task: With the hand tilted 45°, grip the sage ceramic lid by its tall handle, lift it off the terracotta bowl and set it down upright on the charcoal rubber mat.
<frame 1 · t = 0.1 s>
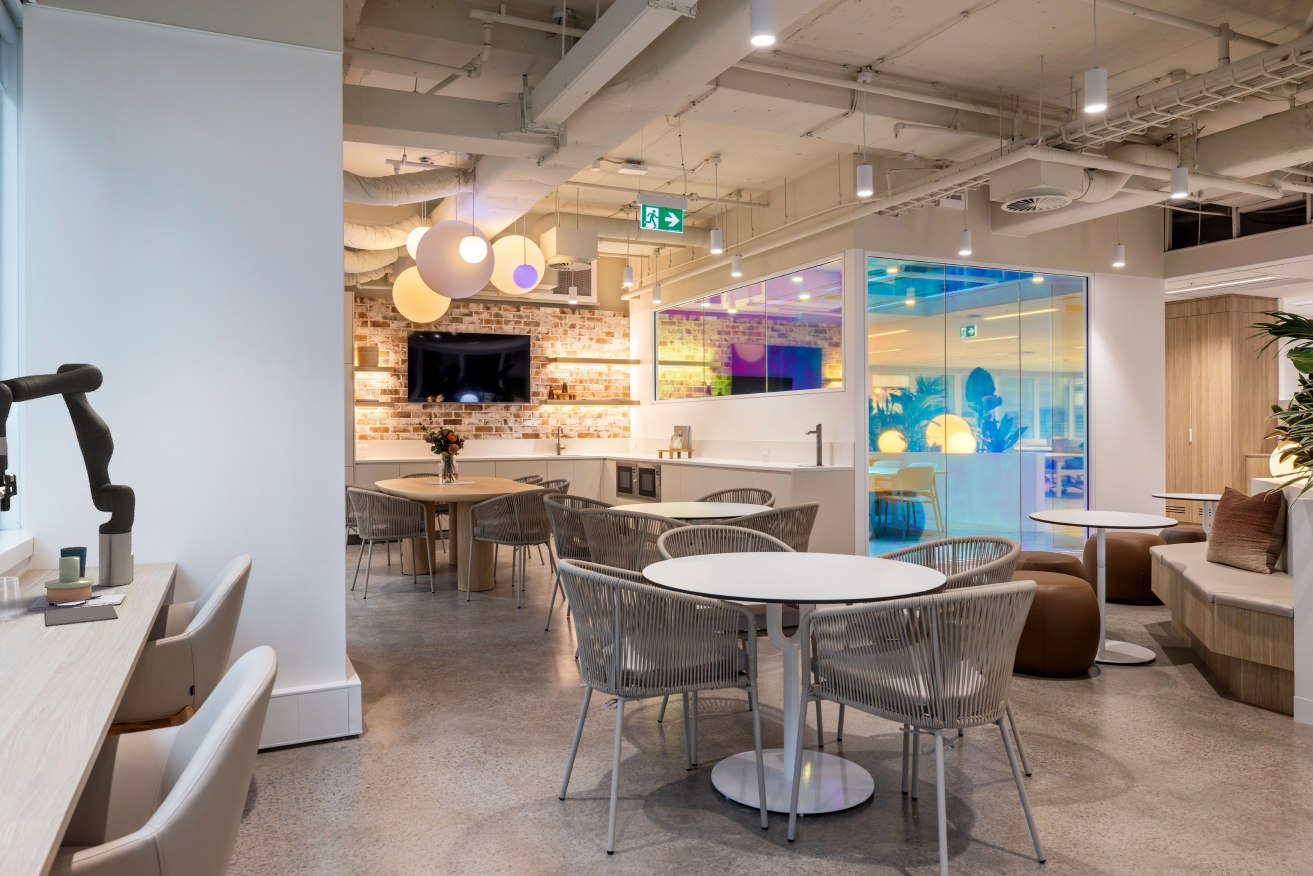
lid: (69, 585, 249), point 5 cm above the table, touching bowl
mat: (81, 614, 235), on the table
cup: (73, 596, 259), on the table
bowl: (69, 603, 249), on the table
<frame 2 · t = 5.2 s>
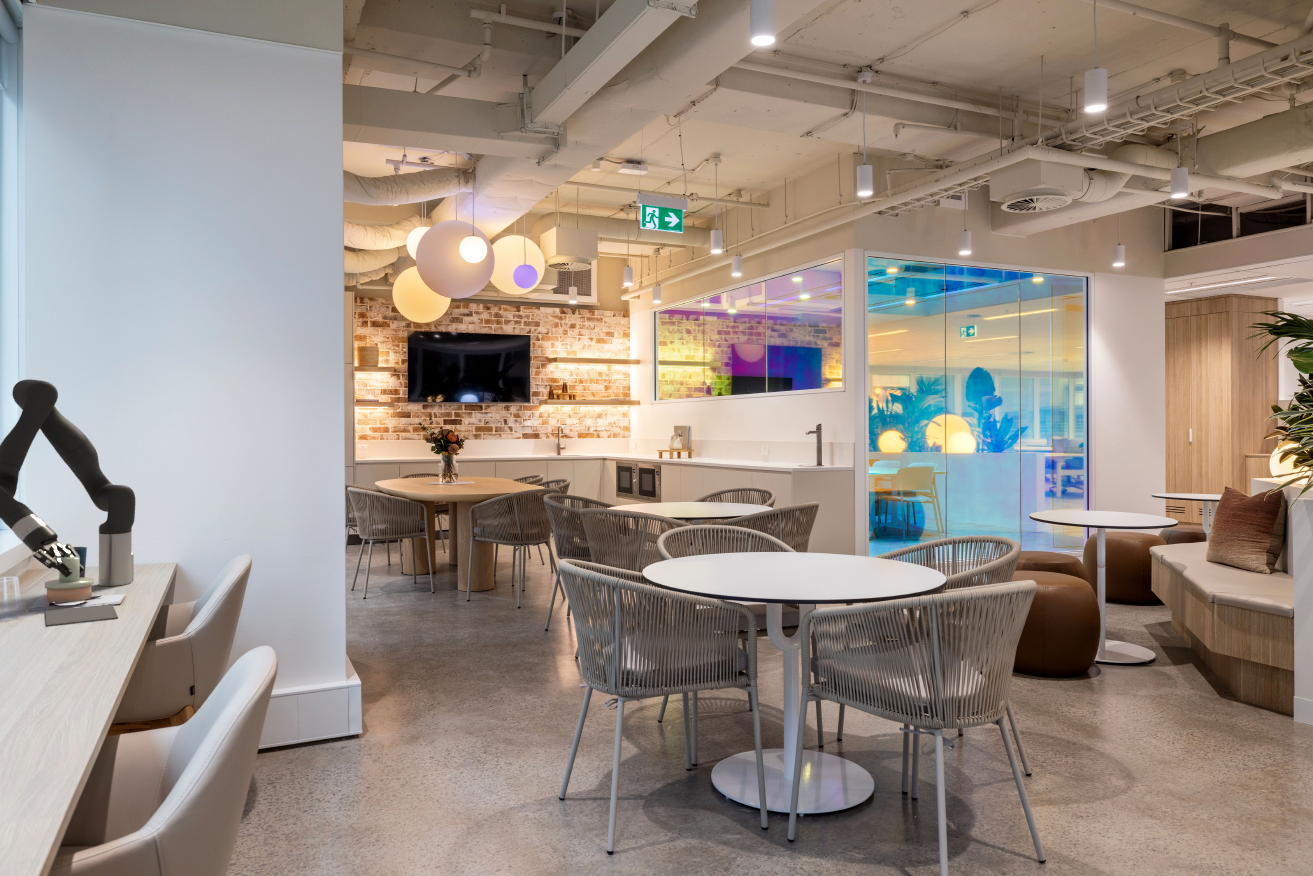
hand: (75, 573, 249), 9 cm above the table, tool tilted 45°, fingers closed on lid, 5 cm apart
lid: (69, 585, 249), point 5 cm above the table, touching bowl, gripper
cup: (73, 596, 259), on the table, touching hand
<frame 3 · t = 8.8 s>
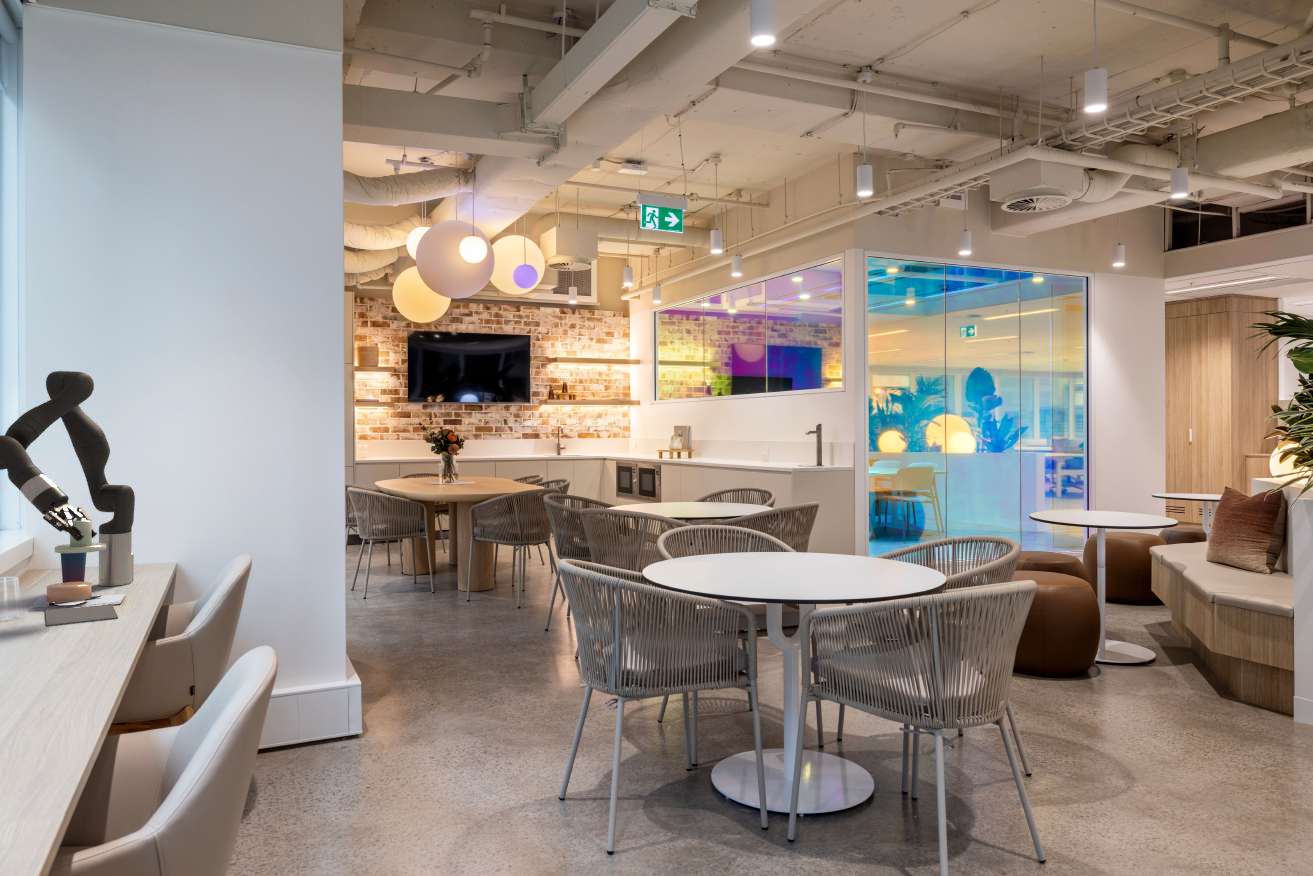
hand: (87, 537, 235), 22 cm above the table, tool tilted 45°, fingers closed on lid, 5 cm apart
lid: (80, 549, 234), point 18 cm above the table, touching gripper
cup: (73, 596, 259), on the table
when the fingers open (5 cm above the table, at t = 12.3 s): lid drops 1 cm, resting on mat.
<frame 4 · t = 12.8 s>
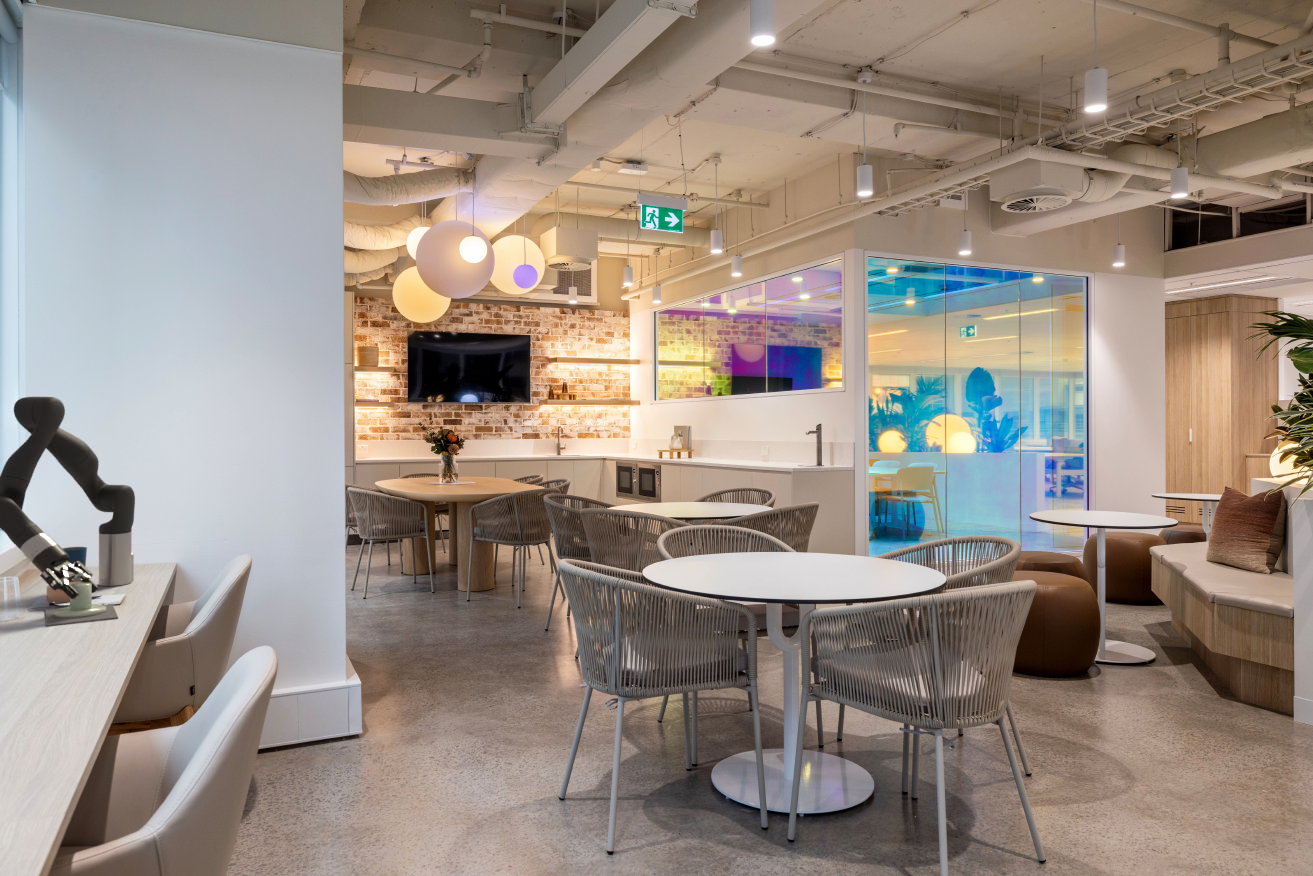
hand: (86, 593, 235), 6 cm above the table, tool tilted 45°, fingers open, 8 cm apart
lid: (80, 613, 235), resting on mat
everything else where it was.
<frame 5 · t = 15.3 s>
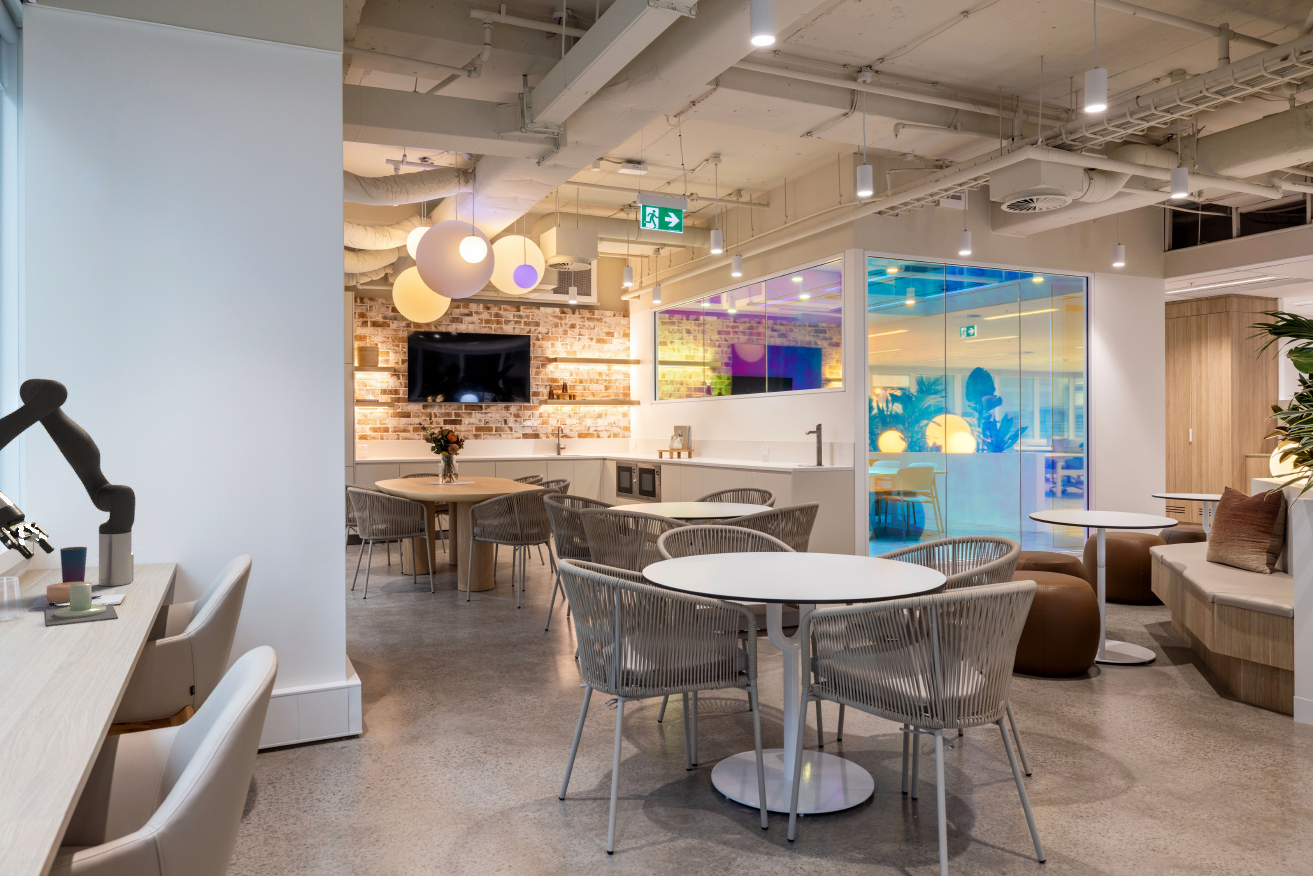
hand: (41, 554, 236), 17 cm above the table, tool tilted 40°, fingers open, 8 cm apart
nothing on the table moved.
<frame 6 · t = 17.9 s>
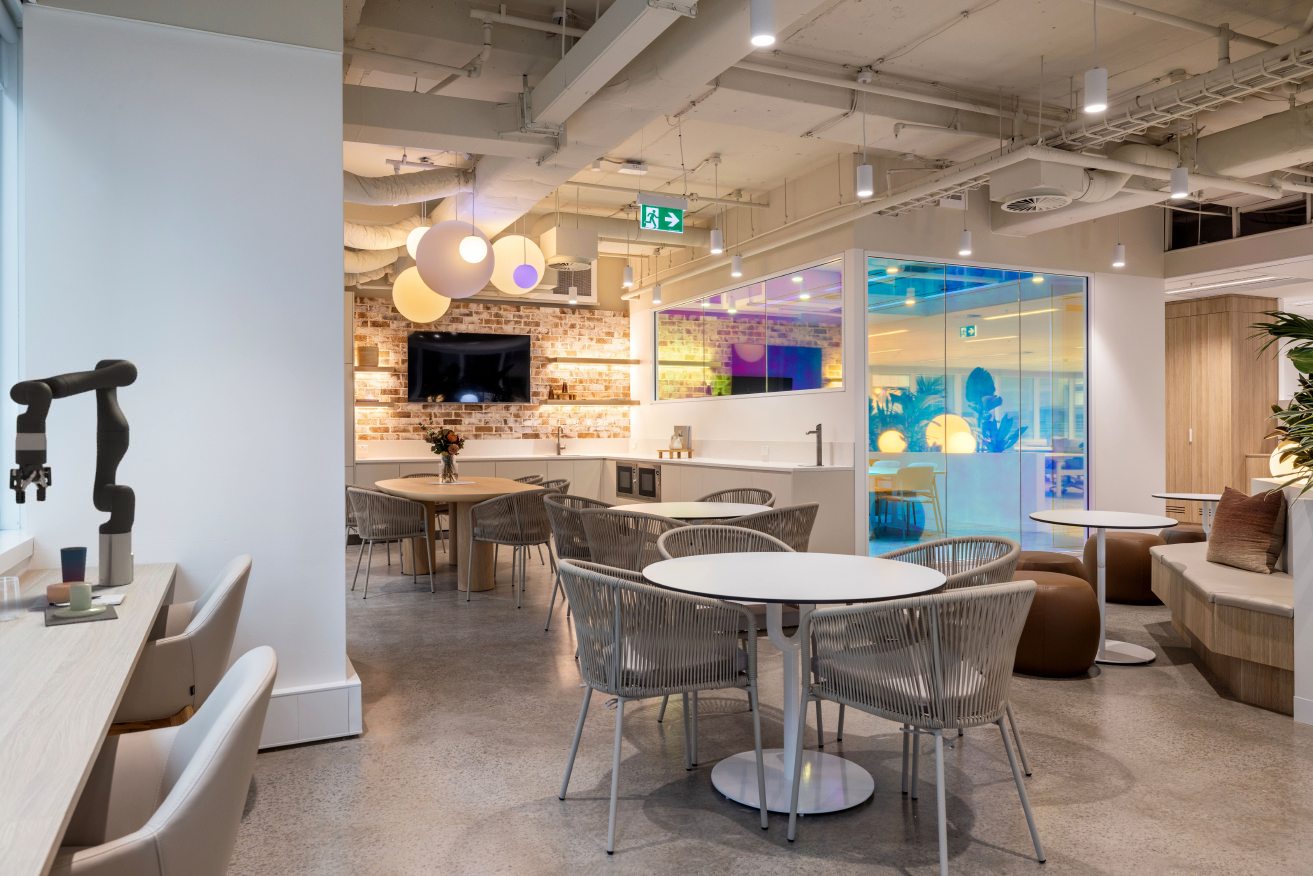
hand: (31, 502, 249), 30 cm above the table, tool pointing down, fingers open, 8 cm apart
nothing on the table moved.
at the end: lid inside the target area on the mat (0.1 cm from its centre), point 0.4 cm above the mat's base; lid tilted 0°; the gripper is holding nothing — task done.
